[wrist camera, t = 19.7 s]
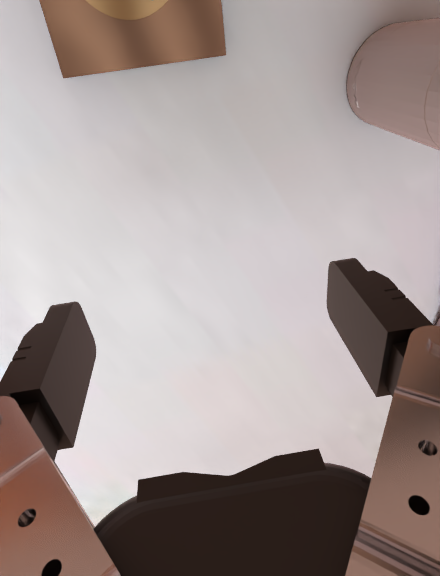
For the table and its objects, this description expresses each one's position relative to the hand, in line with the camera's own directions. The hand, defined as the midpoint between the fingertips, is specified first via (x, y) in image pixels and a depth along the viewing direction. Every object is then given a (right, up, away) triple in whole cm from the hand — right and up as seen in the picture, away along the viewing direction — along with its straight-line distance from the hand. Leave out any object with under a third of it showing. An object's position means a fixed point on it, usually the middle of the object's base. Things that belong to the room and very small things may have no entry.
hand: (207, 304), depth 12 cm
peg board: (-8, +29, +19) cm, 35 cm away
